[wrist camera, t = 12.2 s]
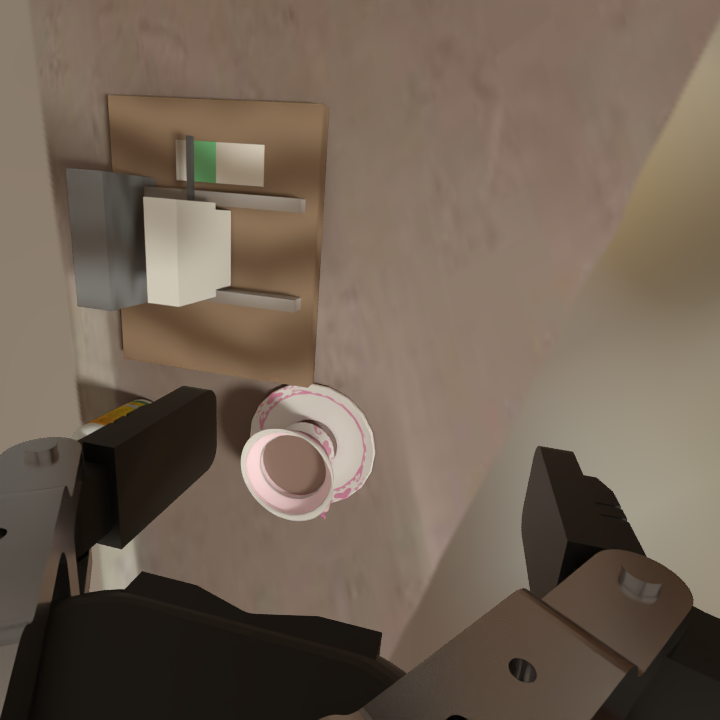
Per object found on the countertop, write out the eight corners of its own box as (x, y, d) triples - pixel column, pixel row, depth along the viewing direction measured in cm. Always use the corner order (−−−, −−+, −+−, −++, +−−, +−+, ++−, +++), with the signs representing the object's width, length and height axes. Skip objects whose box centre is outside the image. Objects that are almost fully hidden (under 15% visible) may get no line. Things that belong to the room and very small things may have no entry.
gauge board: (120, 99, 40) (44, 72, 33) (329, 108, 36) (294, 80, 29) (134, 354, 46) (73, 377, 39) (313, 382, 43) (281, 413, 36)
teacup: (228, 420, 46) (193, 449, 40) (325, 356, 42) (301, 378, 36) (301, 519, 47) (276, 561, 41) (401, 466, 43) (390, 504, 37)
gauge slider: (184, 140, 38) (114, 119, 30) (233, 142, 37) (173, 122, 30) (187, 286, 41) (125, 299, 34) (232, 292, 40) (179, 307, 33)
